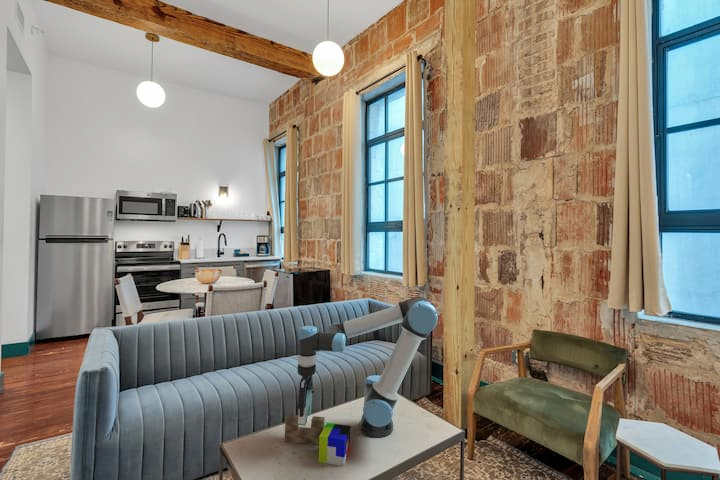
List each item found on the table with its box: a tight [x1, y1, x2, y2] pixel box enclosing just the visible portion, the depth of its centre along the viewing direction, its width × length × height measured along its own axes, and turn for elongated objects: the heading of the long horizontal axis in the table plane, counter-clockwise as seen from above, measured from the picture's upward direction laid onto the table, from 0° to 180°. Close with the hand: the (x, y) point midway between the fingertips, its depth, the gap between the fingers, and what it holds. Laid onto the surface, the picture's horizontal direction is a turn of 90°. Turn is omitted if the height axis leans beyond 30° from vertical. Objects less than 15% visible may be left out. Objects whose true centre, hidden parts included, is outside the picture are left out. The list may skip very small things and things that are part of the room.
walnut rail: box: [284, 413, 326, 445], centre depth 146 cm, size 16×3×10 cm, turn 86°
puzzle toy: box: [318, 422, 352, 467], centre depth 137 cm, size 10×10×10 cm
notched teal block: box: [297, 389, 313, 427], centre depth 146 cm, size 11×3×10 cm, turn 176°
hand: (305, 415), depth 146 cm, fingers closed on notched teal block, 11 cm apart
